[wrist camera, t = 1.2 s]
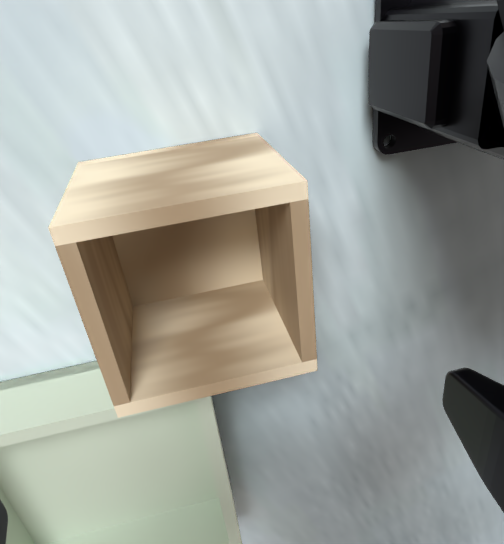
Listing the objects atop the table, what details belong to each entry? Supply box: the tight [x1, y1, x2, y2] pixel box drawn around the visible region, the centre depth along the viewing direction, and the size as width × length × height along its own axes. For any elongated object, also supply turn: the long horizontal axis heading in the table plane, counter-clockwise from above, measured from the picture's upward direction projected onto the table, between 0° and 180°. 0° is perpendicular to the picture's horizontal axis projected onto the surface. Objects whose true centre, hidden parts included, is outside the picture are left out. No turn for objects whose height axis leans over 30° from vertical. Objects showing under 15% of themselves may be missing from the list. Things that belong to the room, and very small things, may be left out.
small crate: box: [48, 133, 317, 418], centre depth 16 cm, size 6×6×6 cm
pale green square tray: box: [0, 361, 242, 544], centre depth 21 cm, size 11×11×3 cm
